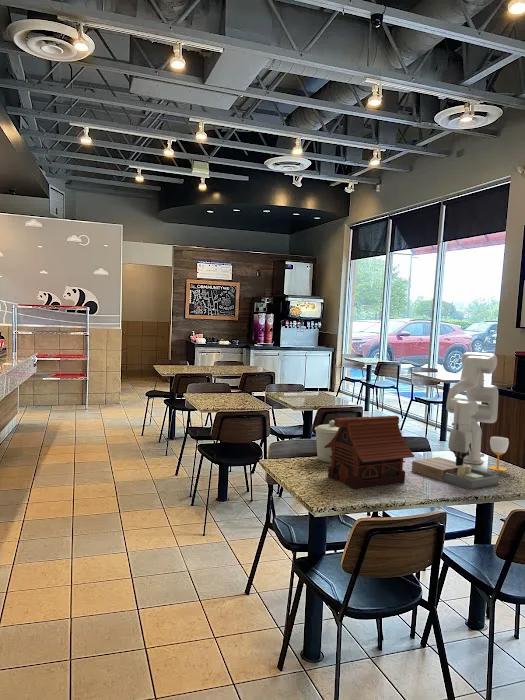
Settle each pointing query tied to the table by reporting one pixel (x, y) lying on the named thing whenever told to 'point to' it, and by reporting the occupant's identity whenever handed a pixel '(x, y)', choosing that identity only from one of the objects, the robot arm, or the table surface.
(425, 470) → the tan wooden board
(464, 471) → the maple block
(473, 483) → the tray
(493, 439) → the cup
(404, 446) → the house
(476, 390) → the robot arm
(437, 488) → the table surface
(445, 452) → the table surface
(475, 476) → the sage block
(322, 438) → the canister
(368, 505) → the table surface
